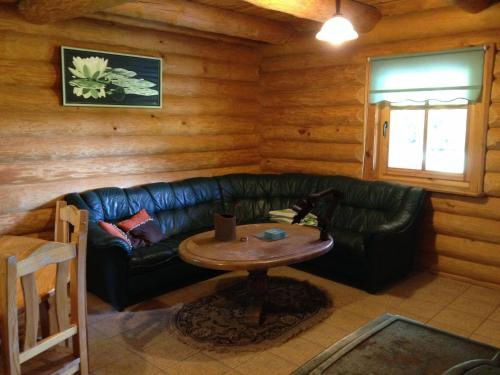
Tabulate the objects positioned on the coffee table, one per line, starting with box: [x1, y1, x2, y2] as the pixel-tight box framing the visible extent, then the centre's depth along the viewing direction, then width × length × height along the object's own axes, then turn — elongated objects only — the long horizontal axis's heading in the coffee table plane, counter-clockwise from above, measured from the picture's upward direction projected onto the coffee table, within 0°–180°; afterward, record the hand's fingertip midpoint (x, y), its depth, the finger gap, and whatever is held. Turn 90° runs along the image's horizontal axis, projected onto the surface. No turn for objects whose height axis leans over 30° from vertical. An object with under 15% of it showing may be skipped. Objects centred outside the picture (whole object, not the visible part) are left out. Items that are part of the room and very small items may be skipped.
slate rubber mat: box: [251, 231, 291, 242], centre depth 333 cm, size 22×20×1 cm
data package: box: [264, 228, 286, 241], centre depth 328 cm, size 12×4×12 cm
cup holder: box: [212, 203, 244, 243], centre depth 326 cm, size 18×24×25 cm
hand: (291, 224), depth 317 cm, fingers closed
